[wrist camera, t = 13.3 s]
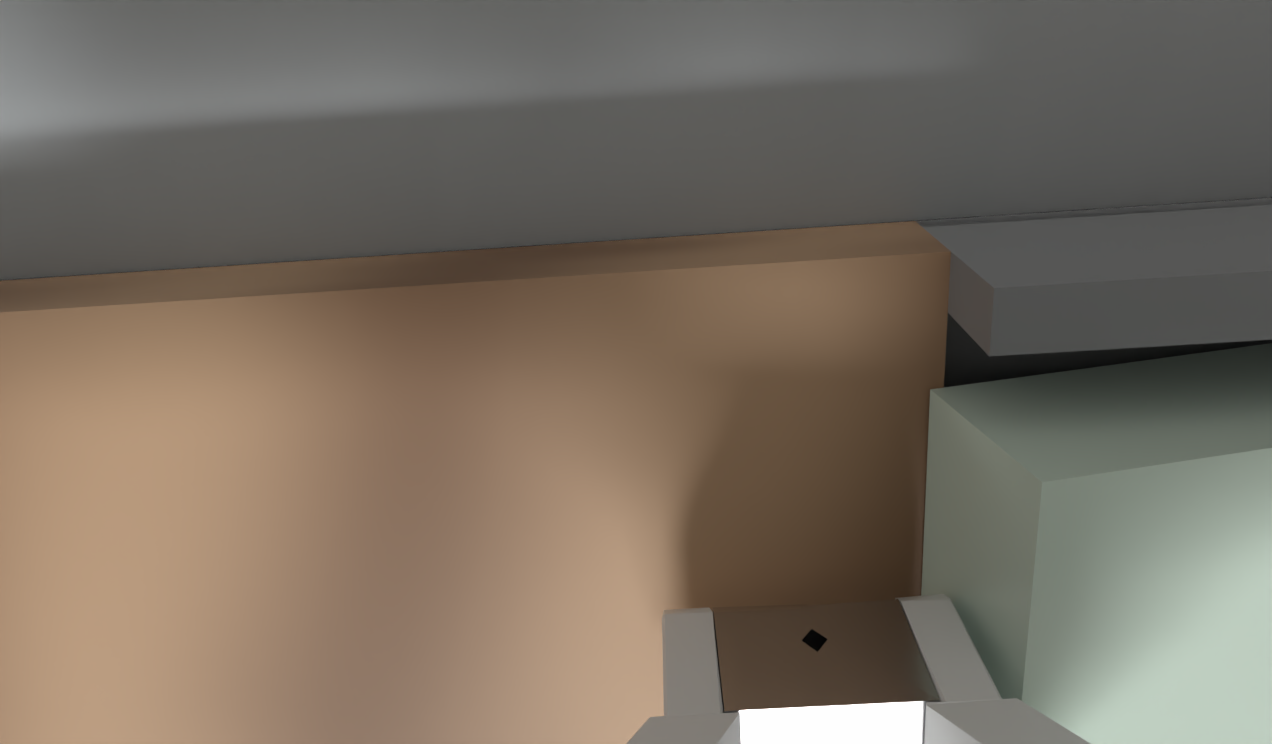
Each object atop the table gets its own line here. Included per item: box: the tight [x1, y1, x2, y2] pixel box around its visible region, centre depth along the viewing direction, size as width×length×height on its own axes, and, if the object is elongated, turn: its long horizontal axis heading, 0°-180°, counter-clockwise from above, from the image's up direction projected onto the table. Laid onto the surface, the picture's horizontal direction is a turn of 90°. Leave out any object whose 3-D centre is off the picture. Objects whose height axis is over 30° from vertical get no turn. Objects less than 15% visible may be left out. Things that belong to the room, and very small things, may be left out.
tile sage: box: [921, 343, 1272, 744], centre depth 10 cm, size 6×5×2 cm
